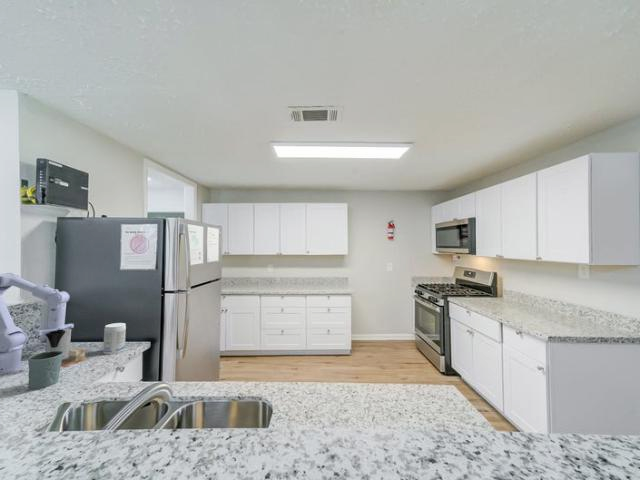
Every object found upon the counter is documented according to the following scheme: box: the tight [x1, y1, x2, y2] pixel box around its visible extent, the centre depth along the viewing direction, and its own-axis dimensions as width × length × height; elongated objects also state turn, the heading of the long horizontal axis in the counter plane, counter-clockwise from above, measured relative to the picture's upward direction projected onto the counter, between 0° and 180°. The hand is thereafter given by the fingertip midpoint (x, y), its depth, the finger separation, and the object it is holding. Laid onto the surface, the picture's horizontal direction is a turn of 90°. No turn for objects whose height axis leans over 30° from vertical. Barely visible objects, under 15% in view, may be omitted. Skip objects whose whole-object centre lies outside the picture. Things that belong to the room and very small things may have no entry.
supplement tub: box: [102, 322, 127, 355], centre depth 150 cm, size 10×10×15 cm
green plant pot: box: [27, 351, 64, 391], centre depth 111 cm, size 10×10×12 cm
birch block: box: [67, 347, 86, 361], centre depth 138 cm, size 4×4×4 cm
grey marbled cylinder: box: [44, 328, 73, 356], centre depth 144 cm, size 10×10×12 cm
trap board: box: [61, 356, 90, 368], centre depth 134 cm, size 12×11×1 cm
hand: (54, 347), depth 128 cm, fingers closed
